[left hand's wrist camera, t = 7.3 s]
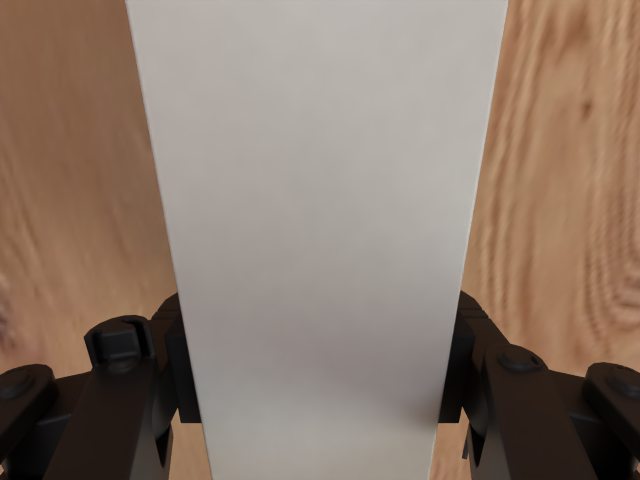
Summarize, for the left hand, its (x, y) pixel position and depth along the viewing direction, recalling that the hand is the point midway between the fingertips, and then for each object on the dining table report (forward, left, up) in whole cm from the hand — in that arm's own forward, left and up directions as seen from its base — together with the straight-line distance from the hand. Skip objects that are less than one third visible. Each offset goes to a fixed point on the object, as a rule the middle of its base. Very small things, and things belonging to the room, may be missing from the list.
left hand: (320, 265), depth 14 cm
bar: (+7, +23, -1) cm, 24 cm away
